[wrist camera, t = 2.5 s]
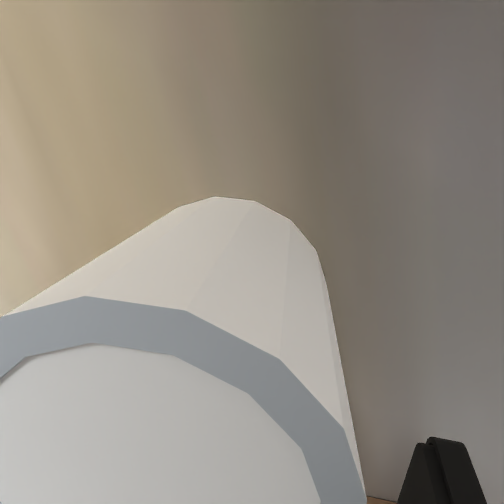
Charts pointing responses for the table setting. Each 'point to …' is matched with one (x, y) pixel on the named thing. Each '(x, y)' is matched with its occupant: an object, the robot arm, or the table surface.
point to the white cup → (181, 372)
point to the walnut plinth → (377, 501)
